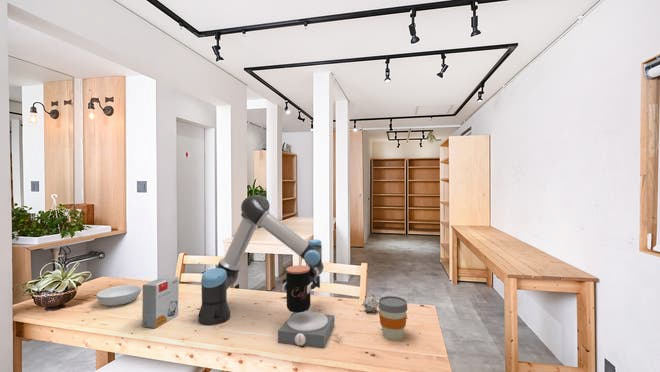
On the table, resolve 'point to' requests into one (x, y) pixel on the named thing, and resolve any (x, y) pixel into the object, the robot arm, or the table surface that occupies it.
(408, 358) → the table surface
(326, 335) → the kitchen scale
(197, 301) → the table surface
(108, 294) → the serving bowl
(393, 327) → the reusable coffee cup
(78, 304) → the table surface
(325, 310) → the table surface
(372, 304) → the game die
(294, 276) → the coffee jar
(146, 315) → the hard drive box
